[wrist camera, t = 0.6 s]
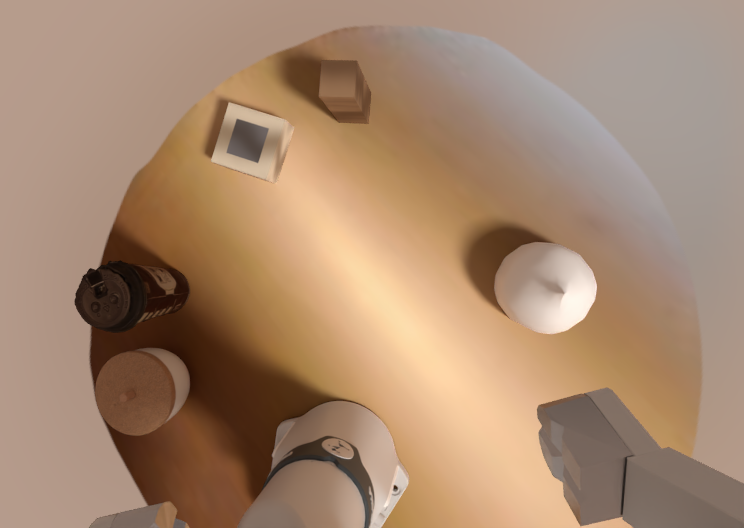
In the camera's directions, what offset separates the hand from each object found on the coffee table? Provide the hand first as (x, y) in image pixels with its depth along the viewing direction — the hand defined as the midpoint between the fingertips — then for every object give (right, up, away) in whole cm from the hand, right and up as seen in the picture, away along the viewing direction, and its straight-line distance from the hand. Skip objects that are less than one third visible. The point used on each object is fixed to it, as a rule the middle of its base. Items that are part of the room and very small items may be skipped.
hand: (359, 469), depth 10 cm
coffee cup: (-28, +1, +55) cm, 62 cm away
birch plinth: (-15, +20, +52) cm, 58 cm away
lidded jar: (-29, -12, +55) cm, 63 cm away
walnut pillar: (-2, +25, +50) cm, 56 cm away
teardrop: (+21, +2, +47) cm, 52 cm away
